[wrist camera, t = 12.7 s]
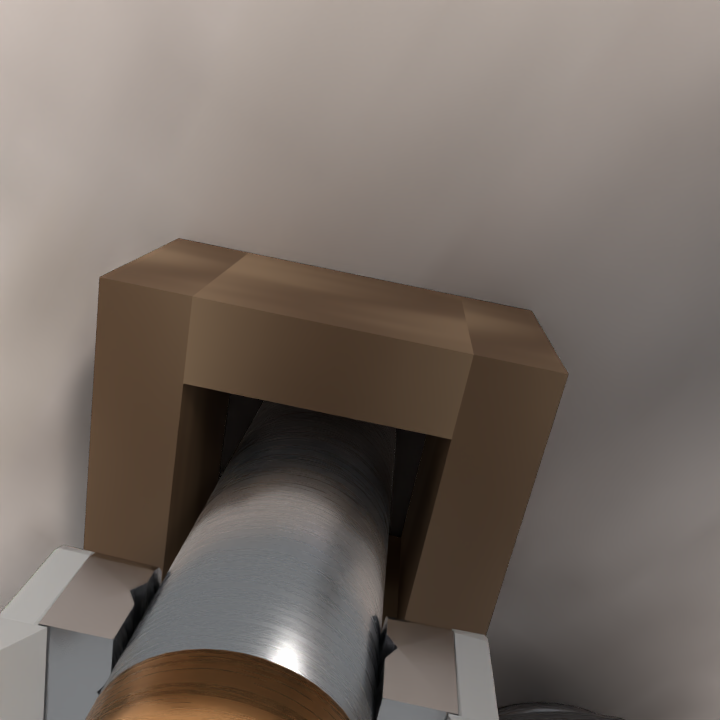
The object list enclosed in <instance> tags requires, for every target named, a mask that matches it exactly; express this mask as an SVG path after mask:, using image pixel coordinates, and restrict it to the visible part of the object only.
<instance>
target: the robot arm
mask: <svg viewBox="0 0 720 720" xmlns="http://www.w3.org/2000/svg"><path fill="white" fill-rule="evenodd" d="M161 577H162V571H161V569H160V568H159V567H157V566H152V565H148V564H144V563H140V562H136V561H131V560H127V559H123V558H119V557H115V556H110V555H106V554H102V553H98V552H96V553H94V552H92V551H87V550H83V549H79V548H74V547H70V546H66V545H63V546H61V547H59V548H57V549H55V550H54V551H53V552H52V554H51V555H50V556H49V557H48V558H47V559H46V561H45V562H44V563H43V564H42V565H41V566H40V568H39V569H38V570H37V571H36V572H35V573H34V574H33V576H32V577H31V578H30V579H29V580H28V581H27V583H26V584H25V585H24V586H23V587H22V588H21V590H20V591H19V592H18V593H17V594H16V595H15V597H14V598H13V599H12V600H11V601H10V602H9V604H8V605H7V606H6V607H5V608H4V609H3V611H2V612H1V613H0V720H85V719H86V717H87V715H88V714H89V712H90V710H91V708H92V706H93V705H94V703H95V701H96V699H97V697H98V696H99V694H100V692H101V690H102V689H103V687H104V685H105V683H106V681H107V680H108V678H109V676H110V674H111V672H112V671H113V669H114V667H115V665H116V664H117V662H118V660H119V658H120V656H121V655H122V653H123V651H124V649H125V647H126V646H127V644H128V642H129V640H130V639H131V637H132V635H133V633H134V631H135V630H136V628H137V626H138V624H139V622H140V621H141V619H142V617H143V615H144V614H145V612H146V610H147V608H148V606H149V605H150V603H151V601H152V599H153V597H154V596H155V594H156V592H157V590H158V589H159V587H160V585H161ZM374 720H499V716H498V708H497V701H496V693H495V686H494V679H493V671H492V664H491V656H490V649H489V642H488V639H487V637H486V636H485V635H483V634H477V633H472V632H467V631H461V630H456V629H452V630H450V629H447V628H442V627H437V626H432V625H427V624H423V623H418V622H413V621H408V620H403V619H398V618H394V617H389V616H386V618H385V621H384V624H383V628H382V632H381V637H380V649H379V661H378V679H377V690H376V699H375V712H374Z"/></svg>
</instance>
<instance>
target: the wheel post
mask: <svg viewBox="0 0 720 720" xmlns="http://www.w3.org/2000/svg"><path fill="white" fill-rule="evenodd" d="M550 711H568V712H582V713H593V712H591V711H588V710H585V709H582V708H578V707H574V706H570V705H564V704H558V703H526V704H519V705H512V706H509V707H505V708H501V709H498V716H499V717H502V716H507V715H514V714H522V713H530V712H550ZM593 714H596V713H593Z"/></svg>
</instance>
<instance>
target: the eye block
mask: <svg viewBox="0 0 720 720" xmlns="http://www.w3.org/2000/svg"><path fill="white" fill-rule="evenodd" d="M567 377H568V373H567V371H566V369H565V367H564V366H563V364H562V362H561V360H560V359H559V357H558V355H557V354H556V352H555V350H554V348H553V347H552V345H551V343H550V341H549V340H548V338H547V336H546V335H545V333H544V331H543V329H542V328H541V326H540V324H539V323H538V321H537V319H536V317H535V316H534V314H533V312H532V311H530V310H525V309H520V308H515V307H510V306H505V305H501V304H496V303H491V302H486V301H481V300H476V299H471V298H466V297H462V296H457V295H452V294H447V293H442V292H437V291H432V290H428V289H423V288H418V287H413V286H408V285H403V284H398V283H394V282H389V281H384V280H379V279H374V278H369V277H364V276H360V275H355V274H350V273H345V272H340V271H335V270H330V269H325V268H321V267H316V266H311V265H306V264H301V263H296V262H291V261H287V260H282V259H277V258H272V257H267V256H262V255H257V254H253V253H248V252H243V251H238V250H233V249H228V248H223V247H218V246H214V245H209V244H204V243H199V242H194V241H189V240H184V239H180V238H178V239H176V240H174V241H172V242H170V243H168V244H166V245H164V246H162V247H160V248H158V249H156V250H154V251H152V252H150V253H148V254H146V255H144V256H142V257H140V258H138V259H136V260H134V261H131V262H129V263H127V264H125V265H123V266H121V267H119V268H117V269H115V270H113V271H111V272H109V273H107V274H105V275H103V276H101V277H100V278H99V295H98V312H97V329H96V346H95V363H94V380H93V397H92V414H91V431H90V448H89V465H88V482H87V499H86V516H85V533H84V550H87V551H92V552H94V553H96V552H98V553H102V554H106V555H110V556H115V557H119V558H123V559H127V560H131V561H136V562H140V563H144V564H148V565H152V566H157V567H159V568H160V569H161V571H162V577H161V583H162V581H163V580H164V578H165V576H166V574H167V572H168V571H169V569H170V567H171V565H172V564H173V562H174V560H175V558H176V556H177V555H178V553H179V551H180V549H181V547H182V546H183V544H184V542H185V540H186V539H187V537H188V535H189V533H190V531H191V530H192V528H193V526H194V524H195V522H196V521H197V519H198V517H199V515H200V514H201V512H202V510H203V508H204V506H205V505H206V503H207V501H208V499H209V497H210V496H211V494H212V492H213V490H214V489H215V487H216V485H217V483H218V479H219V472H220V464H221V457H222V449H223V442H224V435H225V427H226V420H227V412H228V405H229V397H230V393H232V394H237V395H241V396H246V397H251V398H256V399H260V400H265V401H270V402H275V403H280V404H284V405H289V406H294V407H299V408H304V409H308V410H313V411H318V412H323V413H327V414H332V415H337V416H342V417H347V418H351V419H356V420H361V421H366V422H371V423H375V424H380V425H385V426H390V427H394V428H399V429H404V430H409V431H414V432H418V433H423V434H427V435H426V439H425V443H424V447H423V451H422V455H421V459H420V463H419V467H418V471H417V475H416V479H415V483H414V487H413V491H412V495H411V499H410V503H409V507H408V511H407V515H406V519H405V523H404V527H403V532H402V536H401V537H396V536H392V535H389V538H388V551H387V564H386V577H385V589H384V602H383V615H382V628H383V624H384V621H385V618H386V616H389V617H394V618H398V619H403V620H408V621H413V622H418V623H423V624H427V625H432V626H437V627H442V628H447V629H450V630H452V629H456V630H461V631H467V632H472V633H477V634H483V635H485V636H486V633H487V630H488V627H489V624H490V621H491V617H492V614H493V611H494V608H495V605H496V602H497V599H498V595H499V592H500V589H501V586H502V583H503V580H504V576H505V573H506V570H507V567H508V564H509V561H510V557H511V554H512V551H513V548H514V545H515V542H516V538H517V535H518V532H519V529H520V526H521V523H522V519H523V516H524V513H525V510H526V507H527V504H528V501H529V497H530V494H531V491H532V488H533V485H534V482H535V478H536V475H537V472H538V469H539V466H540V463H541V459H542V456H543V453H544V450H545V447H546V444H547V440H548V437H549V434H550V431H551V428H552V425H553V421H554V418H555V415H556V412H557V409H558V406H559V403H560V399H561V396H562V393H563V390H564V387H565V384H566V380H567ZM382 628H381V632H382Z"/></svg>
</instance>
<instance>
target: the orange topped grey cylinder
mask: <svg viewBox="0 0 720 720" xmlns="http://www.w3.org/2000/svg"><path fill="white" fill-rule="evenodd" d="M395 448H396V428H394V427H390V426H385V425H380V424H375V423H371V422H366V421H361V420H356V419H351V418H347V417H342V416H337V415H332V414H327V413H323V412H318V411H313V410H308V409H304V408H299V407H294V406H289V405H284V404H280V403H275V402H270V401H265V400H264V401H263V403H262V405H261V406H260V408H259V410H258V412H257V414H256V415H255V417H254V419H253V421H252V423H251V424H250V426H249V428H248V430H247V431H246V433H245V435H244V437H243V439H242V440H241V442H240V444H239V446H238V448H237V449H236V451H235V453H234V455H233V456H232V458H231V460H230V462H229V464H228V465H227V467H226V469H225V471H224V473H223V474H222V476H221V478H220V480H219V481H218V483H217V485H216V487H215V489H214V490H213V492H212V494H211V496H210V497H209V499H208V501H207V503H206V505H205V506H204V508H203V510H202V512H201V514H200V515H199V517H198V519H197V521H196V522H195V524H194V526H193V528H192V530H191V531H190V533H189V535H188V537H187V539H186V540H185V542H184V544H183V546H182V547H181V549H180V551H179V553H178V555H177V556H176V558H175V560H174V562H173V564H172V565H171V567H170V569H169V571H168V572H167V574H166V576H165V578H164V580H163V581H162V583H161V585H160V587H159V589H158V590H157V592H156V594H155V596H154V597H153V599H152V601H151V603H150V605H149V606H148V608H147V610H146V612H145V614H144V615H143V617H142V619H141V621H140V622H139V624H138V626H137V628H136V630H135V631H134V633H133V635H132V637H131V639H130V640H129V642H128V644H127V646H126V647H125V649H124V651H123V653H122V655H121V656H120V658H119V660H118V662H117V664H116V665H115V667H114V669H113V671H112V672H111V674H110V676H109V678H108V680H107V681H106V683H105V685H104V687H103V689H102V690H101V692H100V694H99V696H98V697H97V699H96V701H95V703H94V705H93V706H92V708H91V710H90V712H89V714H88V715H87V717H86V719H85V720H374V712H375V699H376V690H377V679H378V661H379V649H380V637H381V628H382V615H383V602H384V589H385V577H386V564H387V551H388V538H389V525H390V513H391V500H392V487H393V474H394V461H395Z"/></svg>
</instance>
